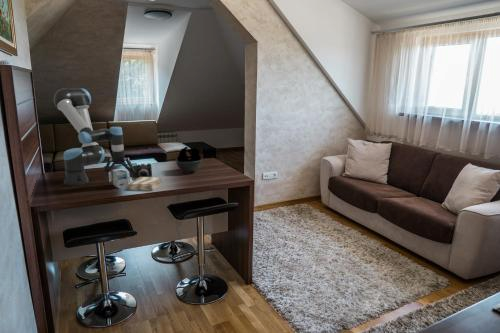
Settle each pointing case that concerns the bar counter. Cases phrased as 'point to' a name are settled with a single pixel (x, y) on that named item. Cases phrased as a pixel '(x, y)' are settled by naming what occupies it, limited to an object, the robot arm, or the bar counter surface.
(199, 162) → the coal bowl
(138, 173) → the camera
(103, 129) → the robot arm
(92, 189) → the bar counter surface
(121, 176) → the light bulb box
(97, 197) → the bar counter surface
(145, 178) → the base
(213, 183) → the bar counter surface
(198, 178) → the bar counter surface
